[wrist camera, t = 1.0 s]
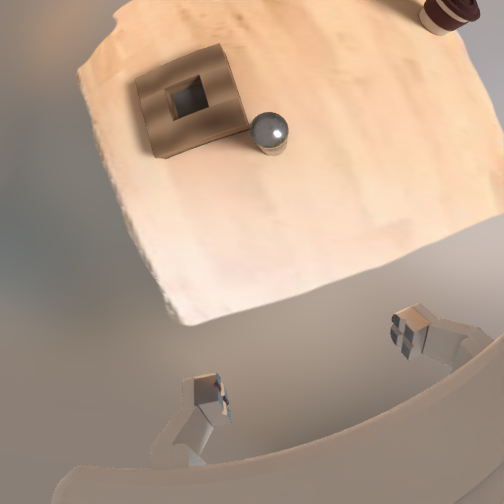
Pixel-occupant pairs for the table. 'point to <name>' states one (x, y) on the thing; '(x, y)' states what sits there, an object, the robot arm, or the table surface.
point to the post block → (191, 102)
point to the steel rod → (270, 133)
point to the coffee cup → (448, 14)
